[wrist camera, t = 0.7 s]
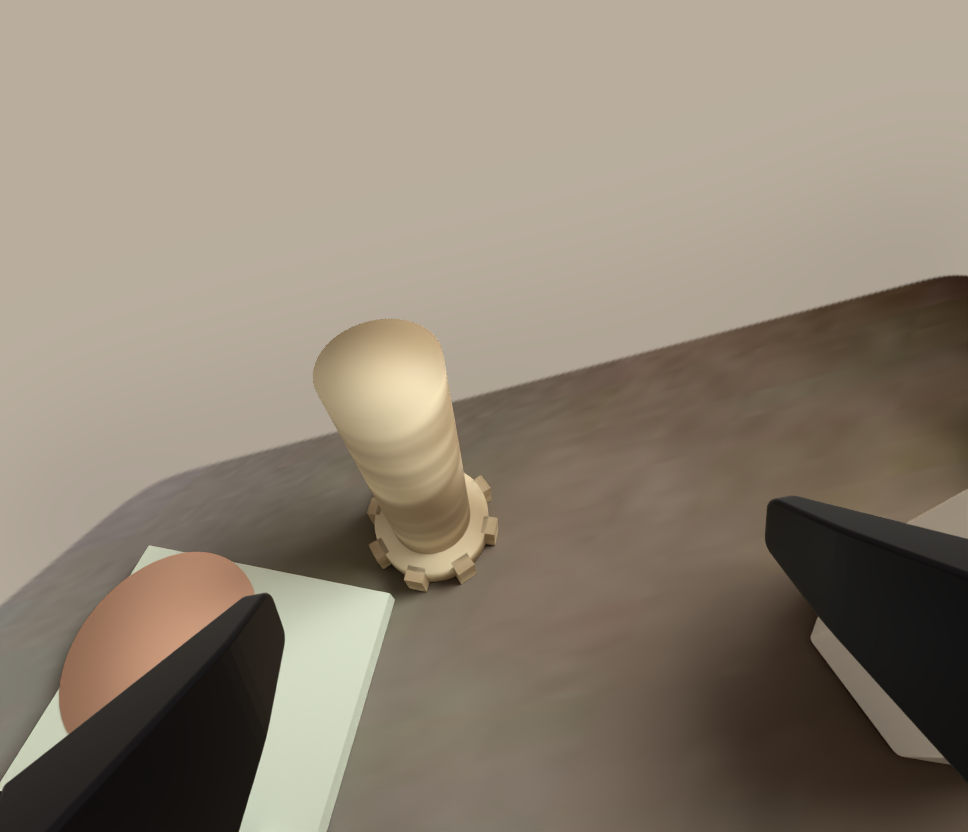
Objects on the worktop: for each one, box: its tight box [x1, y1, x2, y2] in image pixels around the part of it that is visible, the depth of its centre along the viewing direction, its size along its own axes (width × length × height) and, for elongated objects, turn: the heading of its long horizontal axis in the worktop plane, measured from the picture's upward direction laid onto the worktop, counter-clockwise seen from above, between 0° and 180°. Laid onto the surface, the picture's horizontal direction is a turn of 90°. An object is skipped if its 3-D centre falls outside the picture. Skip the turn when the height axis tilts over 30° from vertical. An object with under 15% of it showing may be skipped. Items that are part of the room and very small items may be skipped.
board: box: [0, 545, 395, 832], centre depth 18 cm, size 17×14×1 cm
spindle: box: [313, 319, 498, 592], centre depth 19 cm, size 7×7×13 cm
